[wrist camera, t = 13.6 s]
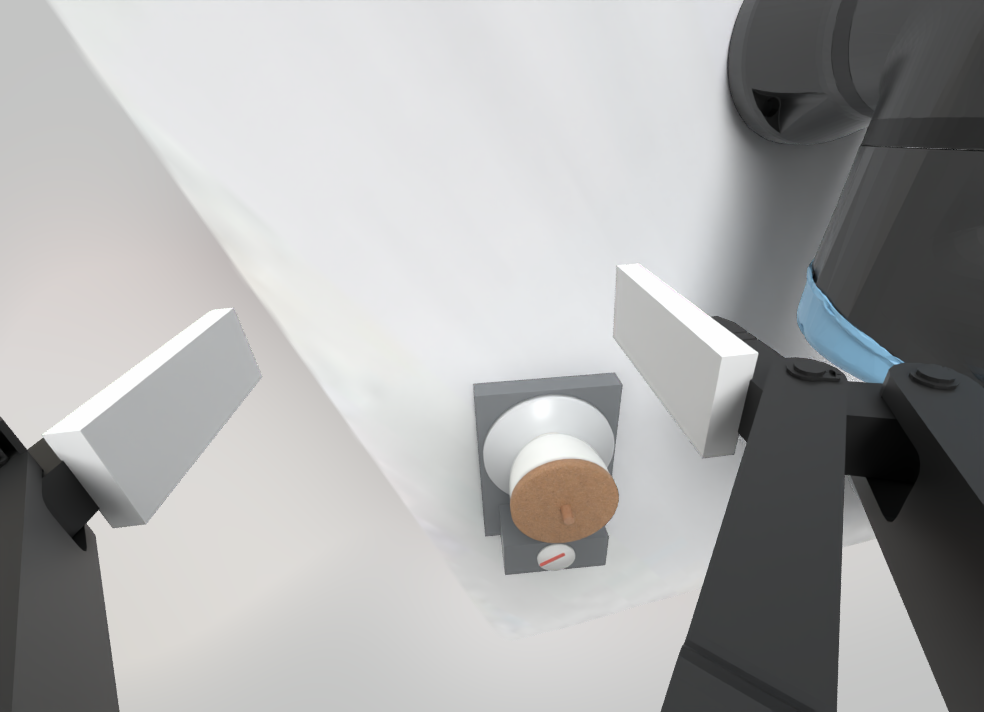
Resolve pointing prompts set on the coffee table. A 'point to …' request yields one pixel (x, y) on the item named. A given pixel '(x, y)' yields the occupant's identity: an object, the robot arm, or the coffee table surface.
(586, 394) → the scale
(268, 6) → the coffee table surface
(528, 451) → the lidded jar
